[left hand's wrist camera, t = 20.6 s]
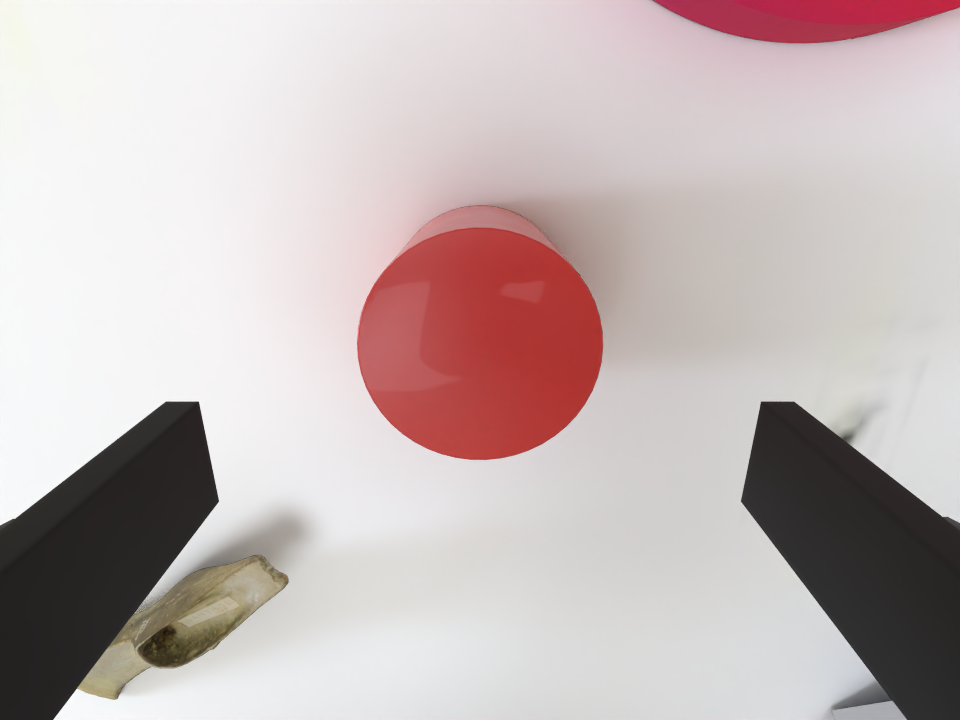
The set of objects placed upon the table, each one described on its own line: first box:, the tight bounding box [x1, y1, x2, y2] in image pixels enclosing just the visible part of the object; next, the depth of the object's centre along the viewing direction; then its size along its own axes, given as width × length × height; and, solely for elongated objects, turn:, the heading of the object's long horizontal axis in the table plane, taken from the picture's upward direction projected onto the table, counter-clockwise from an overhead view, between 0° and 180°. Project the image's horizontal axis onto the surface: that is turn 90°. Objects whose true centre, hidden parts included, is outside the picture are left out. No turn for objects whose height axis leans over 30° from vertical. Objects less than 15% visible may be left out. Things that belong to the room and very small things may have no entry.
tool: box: [78, 555, 289, 700], centre depth 34 cm, size 22×6×5 cm, turn 121°
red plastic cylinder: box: [357, 206, 603, 460], centre depth 24 cm, size 9×9×9 cm
